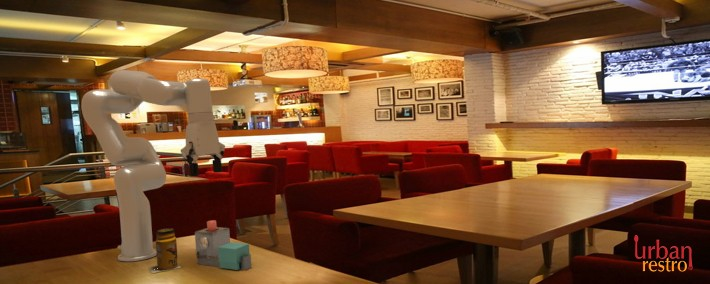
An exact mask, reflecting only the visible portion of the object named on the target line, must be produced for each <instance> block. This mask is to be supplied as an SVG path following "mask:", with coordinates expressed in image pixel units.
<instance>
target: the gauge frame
mask: <svg viewBox="0 0 710 284" xmlns="http://www.w3.org/2000/svg"><path fill="white" fill-rule="evenodd" d="M194 238H195V253H196V254H195V255H196V256H197V251H200V250H203V249H206V250H207V256H215V257H219V255H218V247H220V246H223V245H225V244H228V243H231V236H230V227H220V226H219V227H218V226H217V230H216V231H213V232H210V231H208V229H207V227H206V228H203V229H199V230H196V231H194Z"/></svg>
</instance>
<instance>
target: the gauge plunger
mask: <svg viewBox="0 0 710 284" xmlns="http://www.w3.org/2000/svg"><path fill="white" fill-rule="evenodd" d="M206 226H207V227H206V228H207V229H208V231H210V232H213V231H216V230H217V227H218V225H217V220H215V219H214V220H208V221H206Z"/></svg>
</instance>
